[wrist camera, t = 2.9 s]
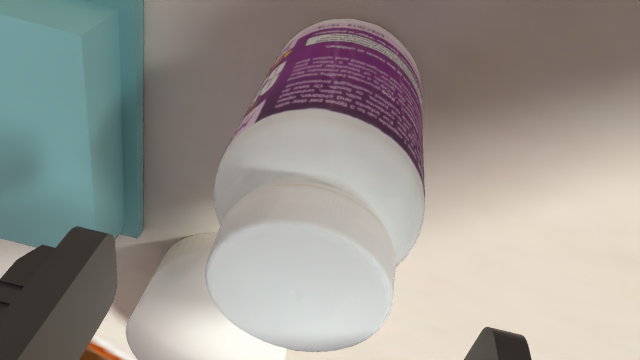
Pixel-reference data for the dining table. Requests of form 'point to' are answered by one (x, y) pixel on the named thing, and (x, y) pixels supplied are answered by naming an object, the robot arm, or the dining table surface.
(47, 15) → the podium
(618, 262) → the dining table surface
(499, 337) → the robot arm
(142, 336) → the white rounded puck
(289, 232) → the pill bottle
